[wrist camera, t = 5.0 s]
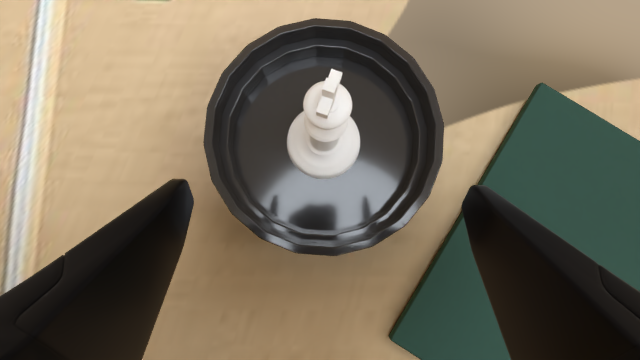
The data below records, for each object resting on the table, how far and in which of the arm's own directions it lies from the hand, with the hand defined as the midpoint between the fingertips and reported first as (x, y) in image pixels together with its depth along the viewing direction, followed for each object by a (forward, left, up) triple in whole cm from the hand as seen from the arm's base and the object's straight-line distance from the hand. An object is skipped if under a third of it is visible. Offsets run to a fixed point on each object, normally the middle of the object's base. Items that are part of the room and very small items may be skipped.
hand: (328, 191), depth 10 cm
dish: (+3, +2, -11) cm, 11 cm away
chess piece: (+3, +2, -10) cm, 11 cm away
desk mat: (+7, -16, -11) cm, 20 cm away
